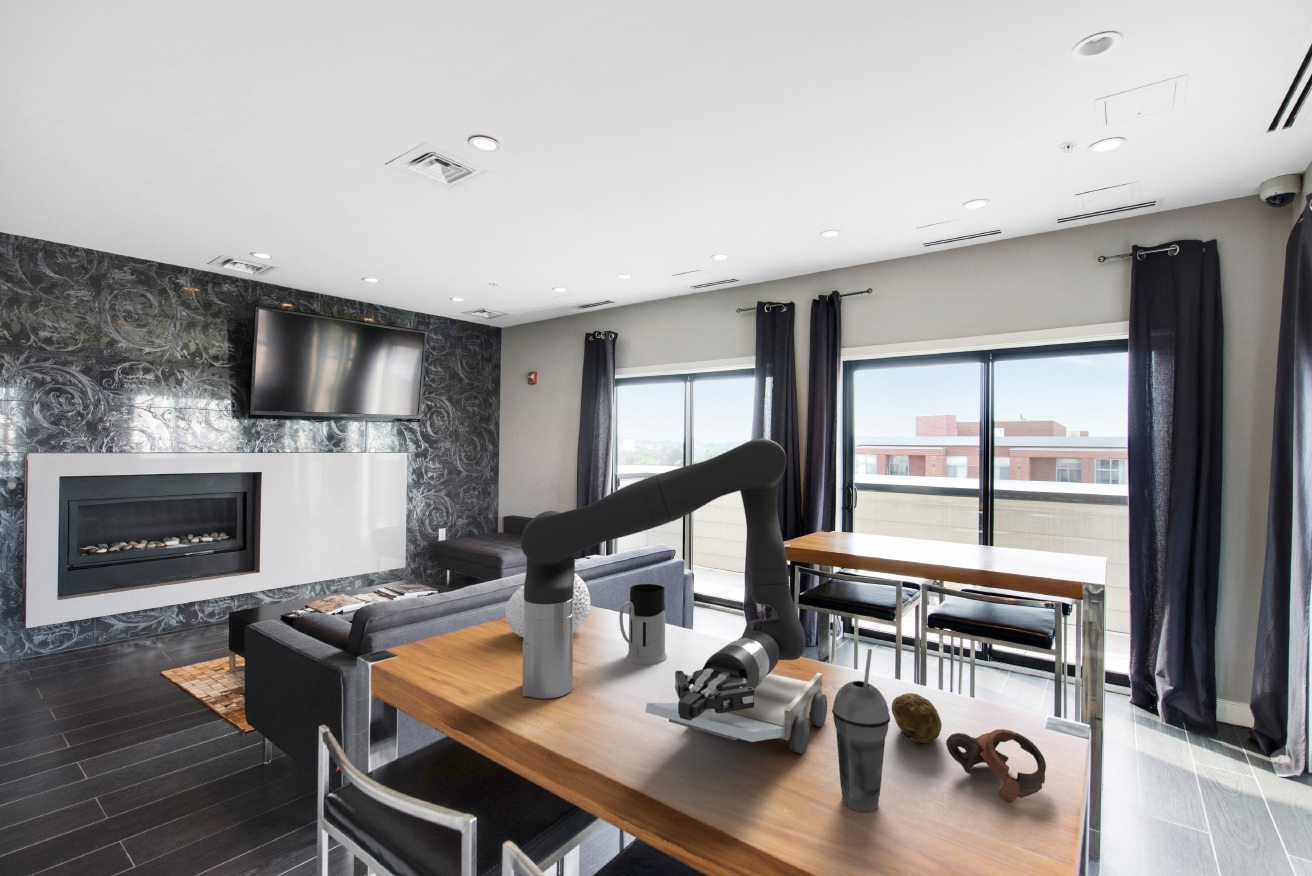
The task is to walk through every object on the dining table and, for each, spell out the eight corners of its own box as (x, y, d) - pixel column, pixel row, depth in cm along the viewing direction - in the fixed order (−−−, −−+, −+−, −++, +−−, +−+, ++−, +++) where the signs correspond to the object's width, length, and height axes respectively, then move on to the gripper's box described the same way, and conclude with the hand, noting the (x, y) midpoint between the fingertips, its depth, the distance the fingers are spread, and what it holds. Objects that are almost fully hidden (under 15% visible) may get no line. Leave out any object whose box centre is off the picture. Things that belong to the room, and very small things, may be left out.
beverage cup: (823, 787, 84) (824, 640, 84) (874, 784, 84) (875, 639, 84) (844, 820, 76) (845, 660, 76) (900, 817, 77) (901, 658, 77)
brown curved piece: (1023, 770, 89) (1047, 735, 85) (1032, 833, 81) (1059, 798, 77) (936, 737, 92) (955, 702, 88) (937, 795, 85) (958, 760, 80)
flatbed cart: (729, 691, 115) (729, 654, 115) (830, 715, 105) (830, 675, 105) (683, 730, 99) (684, 687, 99) (796, 763, 90) (797, 715, 90)
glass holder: (674, 655, 134) (675, 586, 134) (638, 676, 122) (638, 601, 122) (641, 647, 138) (641, 581, 138) (603, 667, 126) (603, 594, 126)
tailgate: (689, 702, 98) (646, 703, 87) (786, 727, 90) (752, 731, 79) (688, 714, 98) (644, 716, 86) (785, 741, 89) (750, 746, 78)
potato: (956, 733, 99) (956, 684, 99) (932, 765, 89) (933, 710, 89) (903, 717, 104) (904, 671, 104) (875, 746, 95) (876, 695, 95)
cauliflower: (576, 584, 161) (563, 543, 151) (610, 630, 149) (598, 589, 139) (507, 626, 154) (488, 586, 143) (537, 678, 142) (518, 638, 131)
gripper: (699, 637, 98) (641, 672, 83) (778, 652, 91) (731, 694, 76) (698, 684, 98) (640, 728, 83) (778, 703, 91) (731, 754, 76)
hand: (684, 712), depth 79 cm, fingers closed
